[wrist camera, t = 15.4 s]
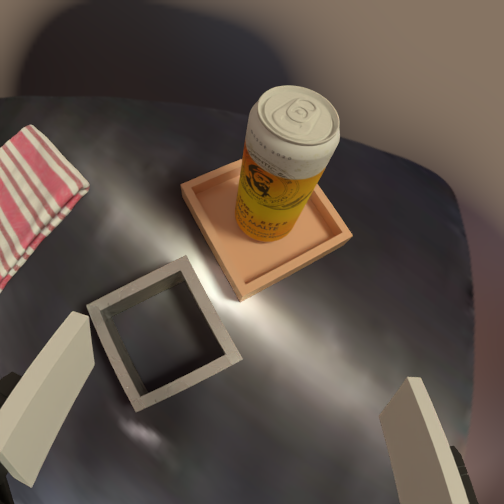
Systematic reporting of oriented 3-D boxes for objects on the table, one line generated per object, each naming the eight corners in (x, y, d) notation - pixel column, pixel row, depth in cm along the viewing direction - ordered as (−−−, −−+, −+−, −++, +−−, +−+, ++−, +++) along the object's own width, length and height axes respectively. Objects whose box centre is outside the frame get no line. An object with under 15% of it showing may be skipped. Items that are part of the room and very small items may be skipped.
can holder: (99, 312, 28) (86, 305, 25) (189, 267, 31) (186, 255, 27) (144, 407, 26) (136, 412, 22) (239, 359, 28) (242, 359, 25)
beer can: (222, 222, 32) (230, 114, 18) (256, 181, 34) (282, 70, 20) (273, 256, 31) (319, 166, 17) (304, 212, 33) (358, 113, 19)
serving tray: (182, 196, 33) (180, 184, 31) (282, 155, 36) (286, 142, 34) (240, 302, 30) (242, 296, 28) (344, 244, 33) (352, 235, 31)
